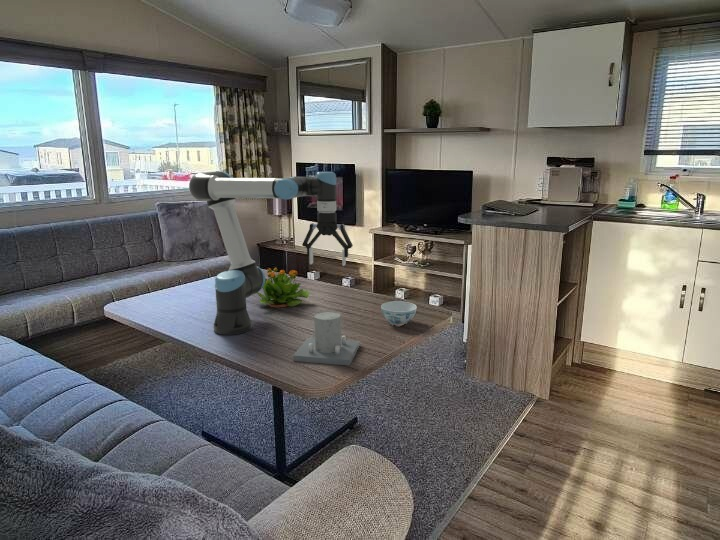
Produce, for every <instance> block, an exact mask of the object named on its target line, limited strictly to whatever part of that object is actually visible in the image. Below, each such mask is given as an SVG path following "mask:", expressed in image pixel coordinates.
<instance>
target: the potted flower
mask: <svg viewBox="0 0 720 540" xmlns="http://www.w3.org/2000/svg"><path fill="white" fill-rule="evenodd" d="M278 271H279V272H278ZM266 273H267V277H268V278H266V277H265V284H264V286H263V288H262V291H263V294H262V293H260V292H258V293H256V295H258V296H259V297H260V299H259V303H260V304H267V305H269V307H270V308H274V307H275V308H277V309H278V308H280V307H281V308H286V307H296V306H298V305H300V304H301V303H304V302H303V299H300V298H306V299H308V297H309V295H310V293H311V291H309V290H307V289H305V290H304V289H303V288H300V286H301V282H298V283H297V281H295V279H297V278H296V277H297V275H298V271H297V270H294V269H292V270H290V271H289V272H288V274H287V273H286V270H284V269H281V270H278V268H277V267H274V268H273V270H272V268H267V270H266ZM292 281H293V282H292ZM299 288H300V289H299Z"/></svg>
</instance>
